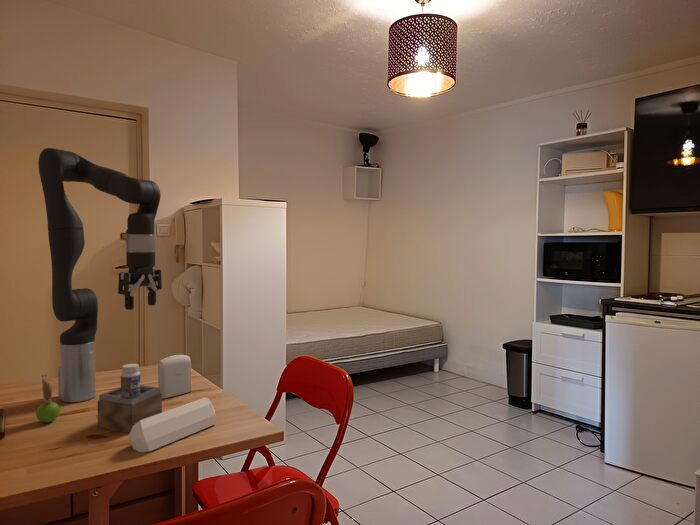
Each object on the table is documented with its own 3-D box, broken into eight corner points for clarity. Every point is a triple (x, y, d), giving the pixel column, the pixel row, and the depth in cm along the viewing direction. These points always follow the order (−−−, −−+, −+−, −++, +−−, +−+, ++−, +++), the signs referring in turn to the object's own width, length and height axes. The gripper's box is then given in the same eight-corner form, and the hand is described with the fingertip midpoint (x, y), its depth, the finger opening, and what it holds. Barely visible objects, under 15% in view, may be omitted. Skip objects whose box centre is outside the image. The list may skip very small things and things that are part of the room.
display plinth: (97, 427, 126) (97, 395, 126) (129, 412, 136) (129, 383, 136) (132, 433, 123) (131, 400, 122) (161, 418, 133) (161, 387, 132)
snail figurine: (56, 415, 134) (55, 372, 133) (62, 422, 129) (61, 377, 128) (33, 420, 130) (32, 376, 129) (38, 427, 125) (37, 381, 125)
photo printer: (162, 400, 147) (162, 359, 147) (156, 396, 150) (155, 357, 150) (193, 392, 155) (193, 354, 154) (186, 389, 158) (186, 351, 157)
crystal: (198, 402, 135) (117, 431, 115) (214, 394, 131) (133, 422, 111) (207, 428, 133) (127, 462, 113) (223, 420, 130) (143, 453, 110)
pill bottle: (133, 400, 126) (132, 368, 126) (117, 398, 127) (116, 367, 127) (144, 394, 131) (144, 363, 131) (128, 392, 132) (128, 362, 132)
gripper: (148, 249, 145) (148, 303, 146) (110, 250, 132) (110, 309, 133) (169, 250, 143) (168, 305, 144) (132, 251, 129) (132, 312, 130)
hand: (140, 307), depth 138 cm, fingers open, 8 cm apart
